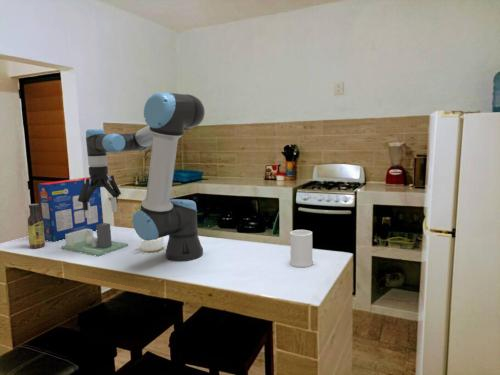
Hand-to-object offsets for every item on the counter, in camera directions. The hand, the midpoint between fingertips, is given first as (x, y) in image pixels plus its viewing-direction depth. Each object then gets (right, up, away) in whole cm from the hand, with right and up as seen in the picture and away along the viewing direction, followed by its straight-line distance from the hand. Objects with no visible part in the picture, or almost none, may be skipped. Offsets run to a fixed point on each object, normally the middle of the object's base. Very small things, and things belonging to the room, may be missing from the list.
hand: (101, 214), depth 163 cm
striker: (-1, -14, +3) cm, 14 cm away
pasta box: (-25, -13, +30) cm, 41 cm away
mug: (+85, -17, -21) cm, 89 cm away
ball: (-8, -12, +6) cm, 16 cm away
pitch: (-5, -15, +6) cm, 17 cm away
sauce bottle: (-33, -16, +9) cm, 38 cm away
